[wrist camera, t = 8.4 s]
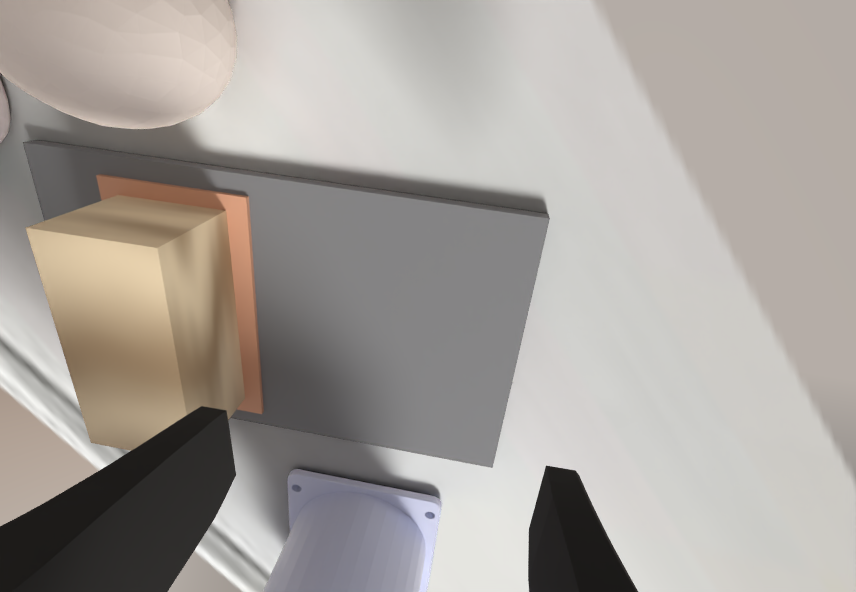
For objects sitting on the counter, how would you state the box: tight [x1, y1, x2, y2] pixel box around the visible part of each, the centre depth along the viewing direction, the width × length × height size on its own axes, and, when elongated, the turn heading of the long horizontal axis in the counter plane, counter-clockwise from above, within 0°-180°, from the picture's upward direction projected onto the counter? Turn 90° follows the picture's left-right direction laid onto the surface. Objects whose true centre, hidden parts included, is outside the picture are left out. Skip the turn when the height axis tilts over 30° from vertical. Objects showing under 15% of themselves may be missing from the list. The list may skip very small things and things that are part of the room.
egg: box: [0, 0, 237, 129], centre depth 13 cm, size 5×5×7 cm
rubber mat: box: [23, 140, 550, 468], centre depth 20 cm, size 12×20×1 cm, turn 84°
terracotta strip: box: [96, 174, 264, 414], centre depth 20 cm, size 10×6×1 cm, turn 174°
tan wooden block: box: [26, 195, 245, 451], centre depth 19 cm, size 9×4×4 cm, turn 175°
